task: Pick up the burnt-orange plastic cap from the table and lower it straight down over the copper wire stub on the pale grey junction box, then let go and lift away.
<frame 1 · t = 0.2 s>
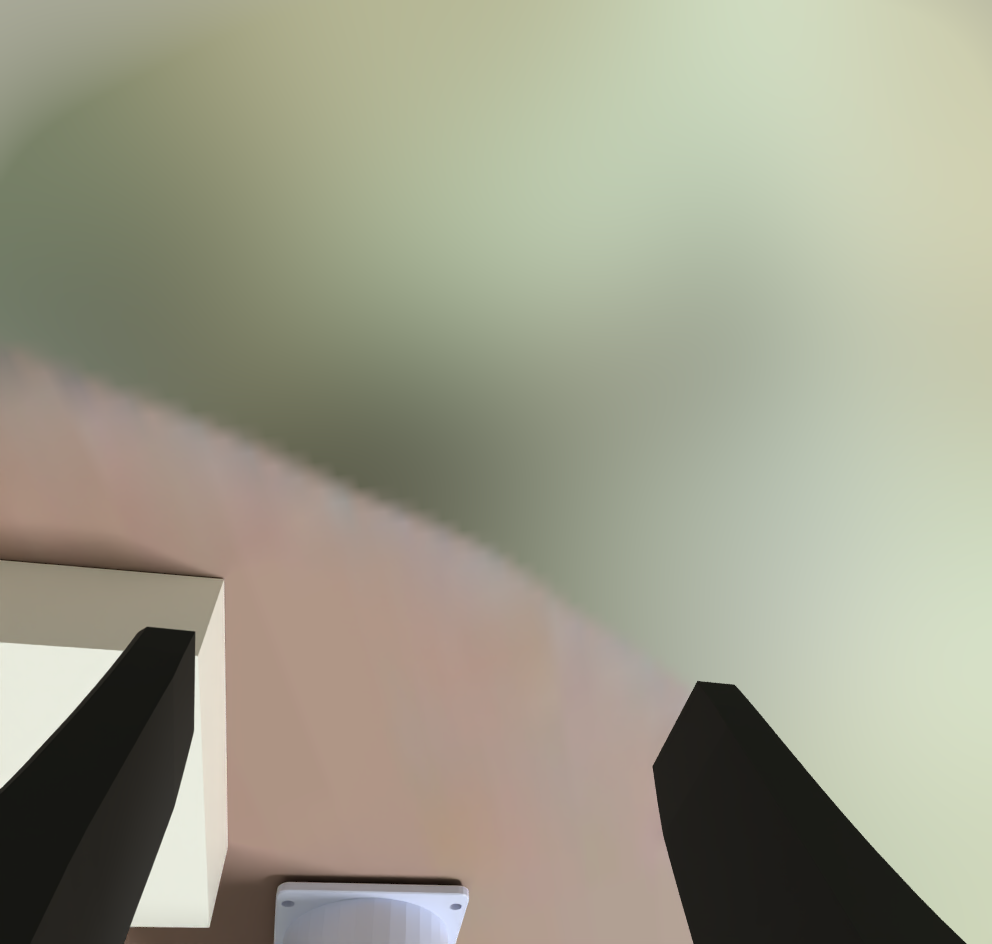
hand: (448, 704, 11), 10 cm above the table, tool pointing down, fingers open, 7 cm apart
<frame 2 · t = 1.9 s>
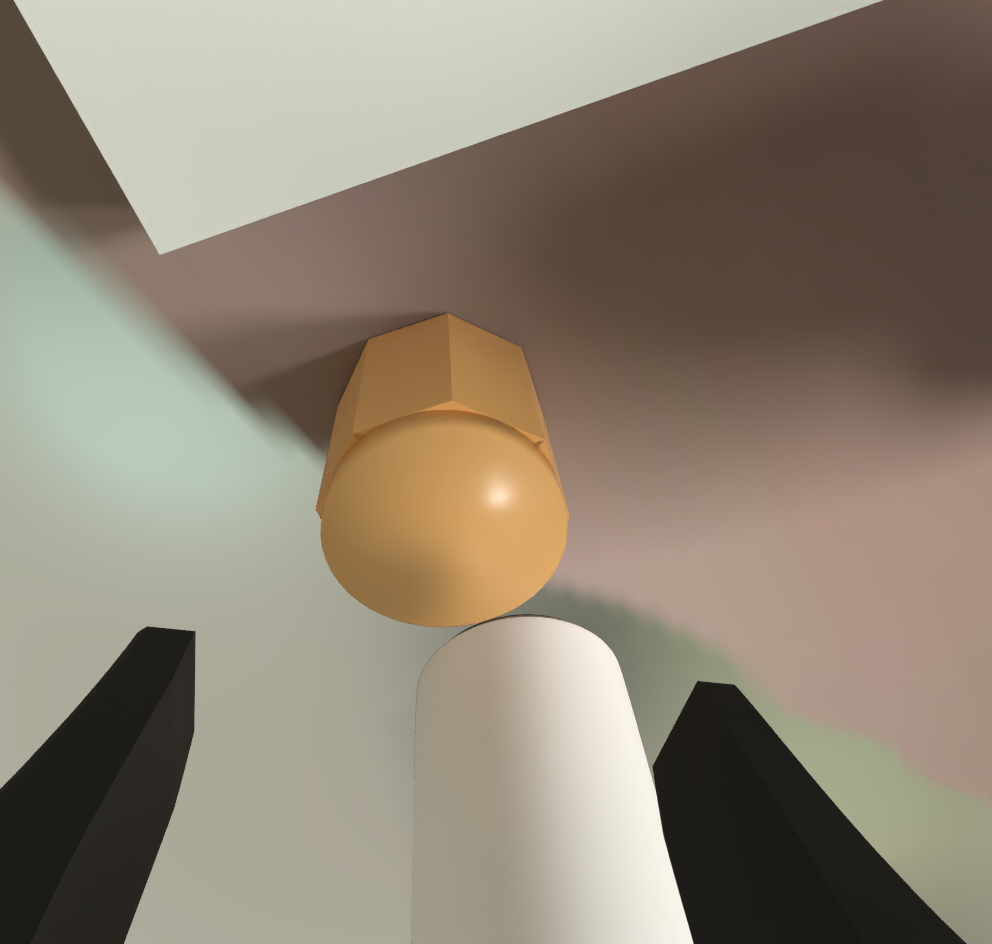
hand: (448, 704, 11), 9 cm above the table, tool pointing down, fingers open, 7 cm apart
cap: (442, 410, 18), on the table
can: (517, 676, 24), on the table
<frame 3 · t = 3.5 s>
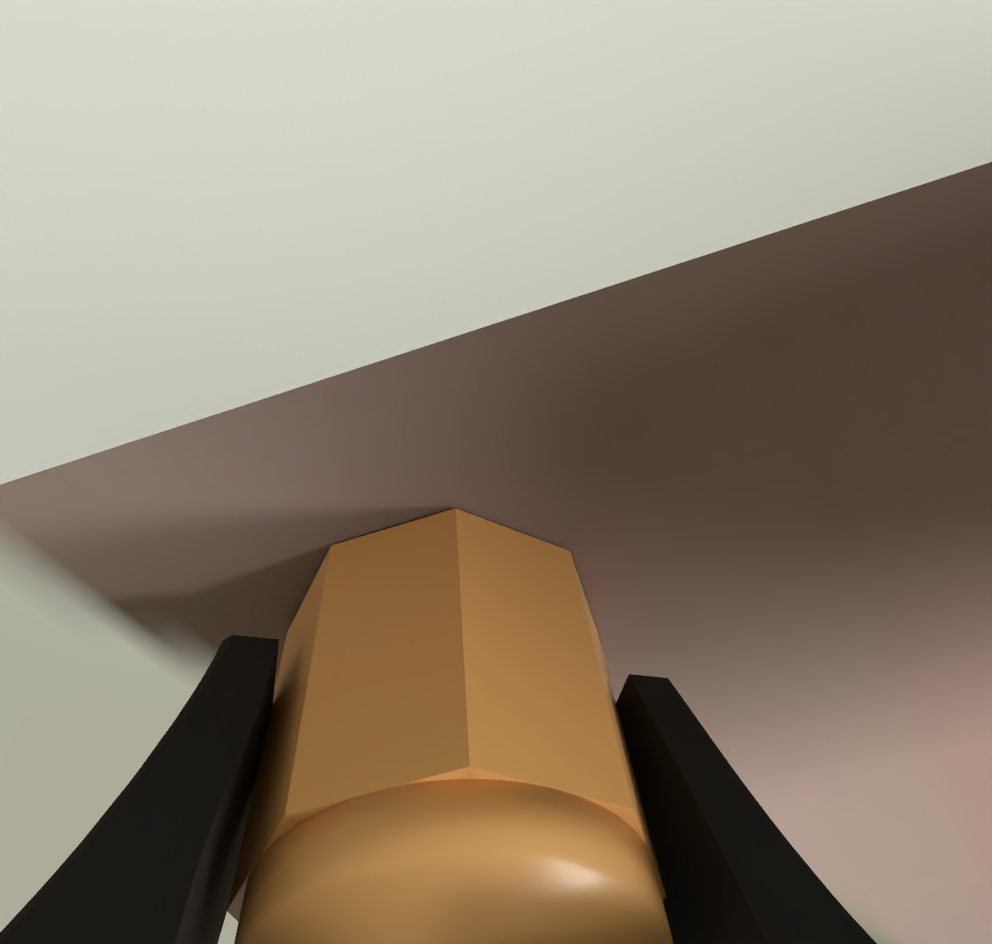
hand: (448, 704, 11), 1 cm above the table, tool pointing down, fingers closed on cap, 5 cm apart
cap: (446, 634, 12), on the table, touching gripper
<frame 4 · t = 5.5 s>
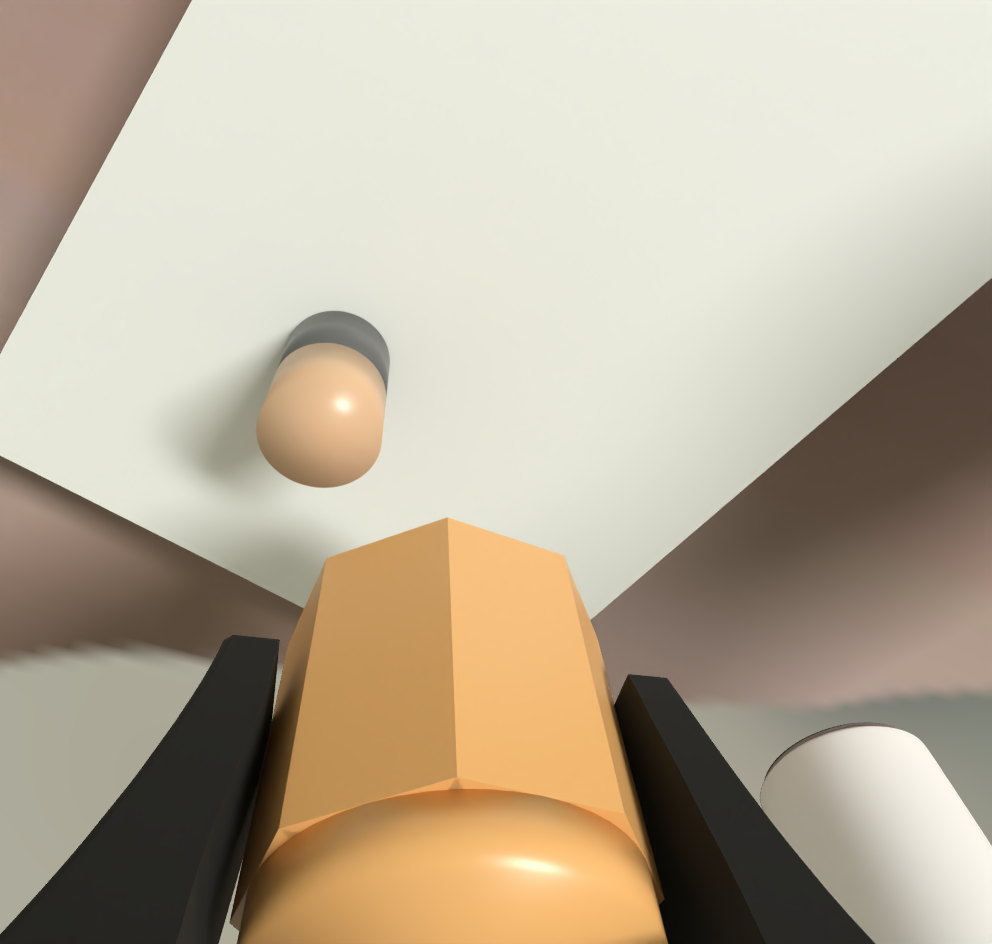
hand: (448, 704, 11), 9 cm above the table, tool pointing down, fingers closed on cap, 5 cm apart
junction box: (502, 257, 17), on the table
cap: (445, 641, 12), point 8 cm above the table, touching gripper
can: (836, 767, 29), on the table
when the fingers open (6 cm above the table, at t = 7.4 s): cap drops 1 cm, resting on junction box.
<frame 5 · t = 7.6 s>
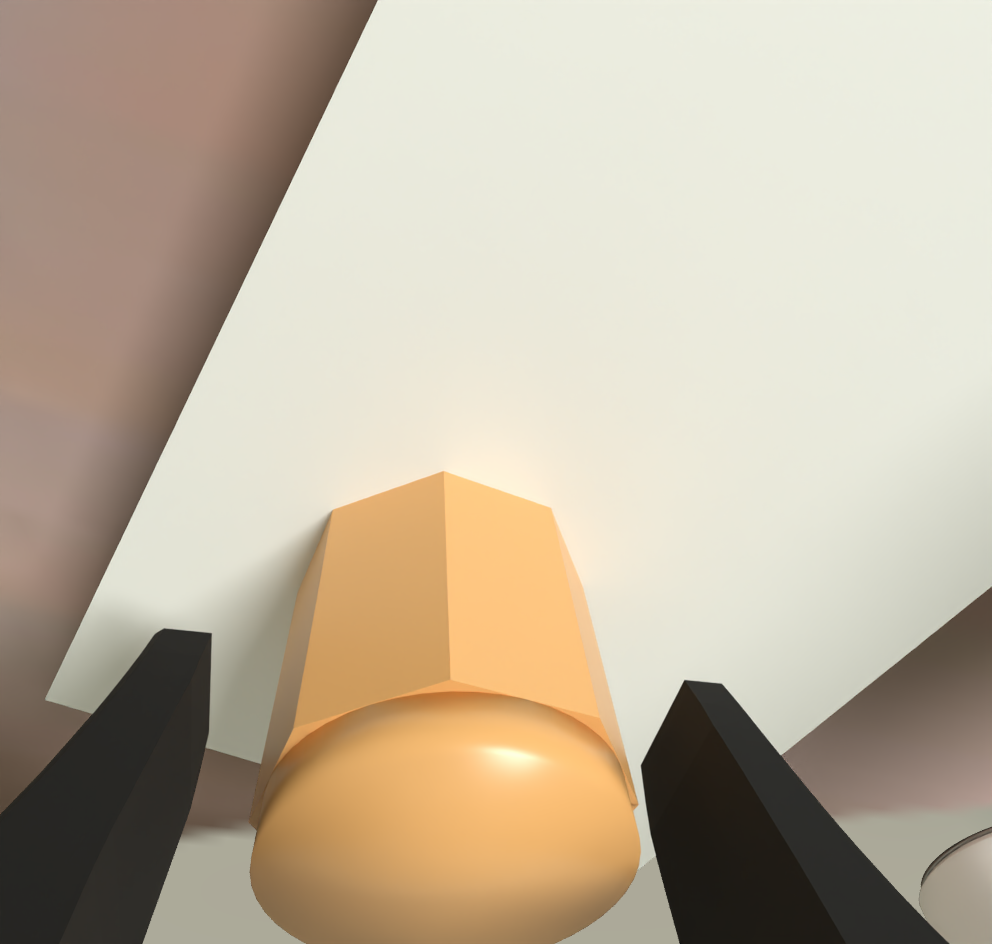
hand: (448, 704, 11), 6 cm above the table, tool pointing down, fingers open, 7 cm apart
junction box: (605, 419, 15), on the table
cap: (442, 590, 13), point 3 cm above the table, touching junction box
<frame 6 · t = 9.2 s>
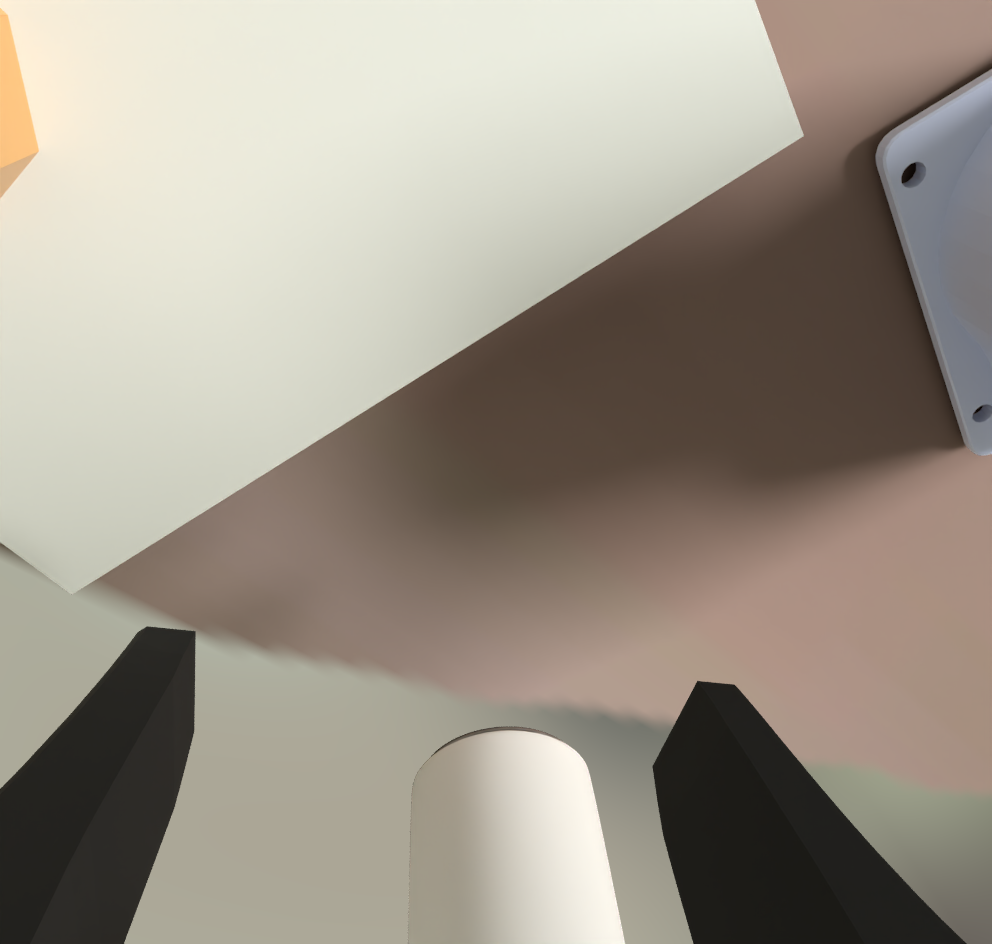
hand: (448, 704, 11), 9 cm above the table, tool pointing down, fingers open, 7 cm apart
junction box: (168, 53, 14), on the table
can: (500, 773, 27), on the table
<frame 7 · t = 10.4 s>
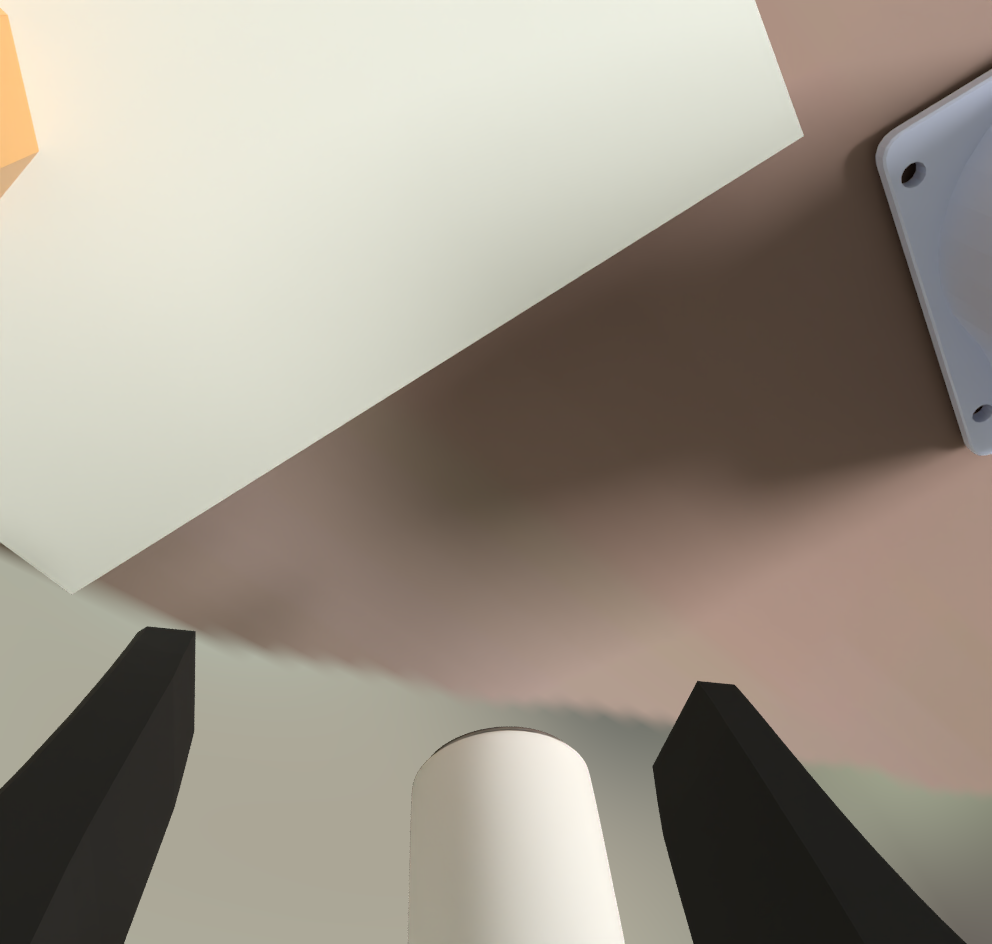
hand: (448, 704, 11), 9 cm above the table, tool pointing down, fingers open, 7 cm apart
junction box: (168, 53, 14), on the table
can: (500, 773, 27), on the table
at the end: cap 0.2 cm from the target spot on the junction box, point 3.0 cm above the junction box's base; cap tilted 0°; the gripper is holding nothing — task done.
